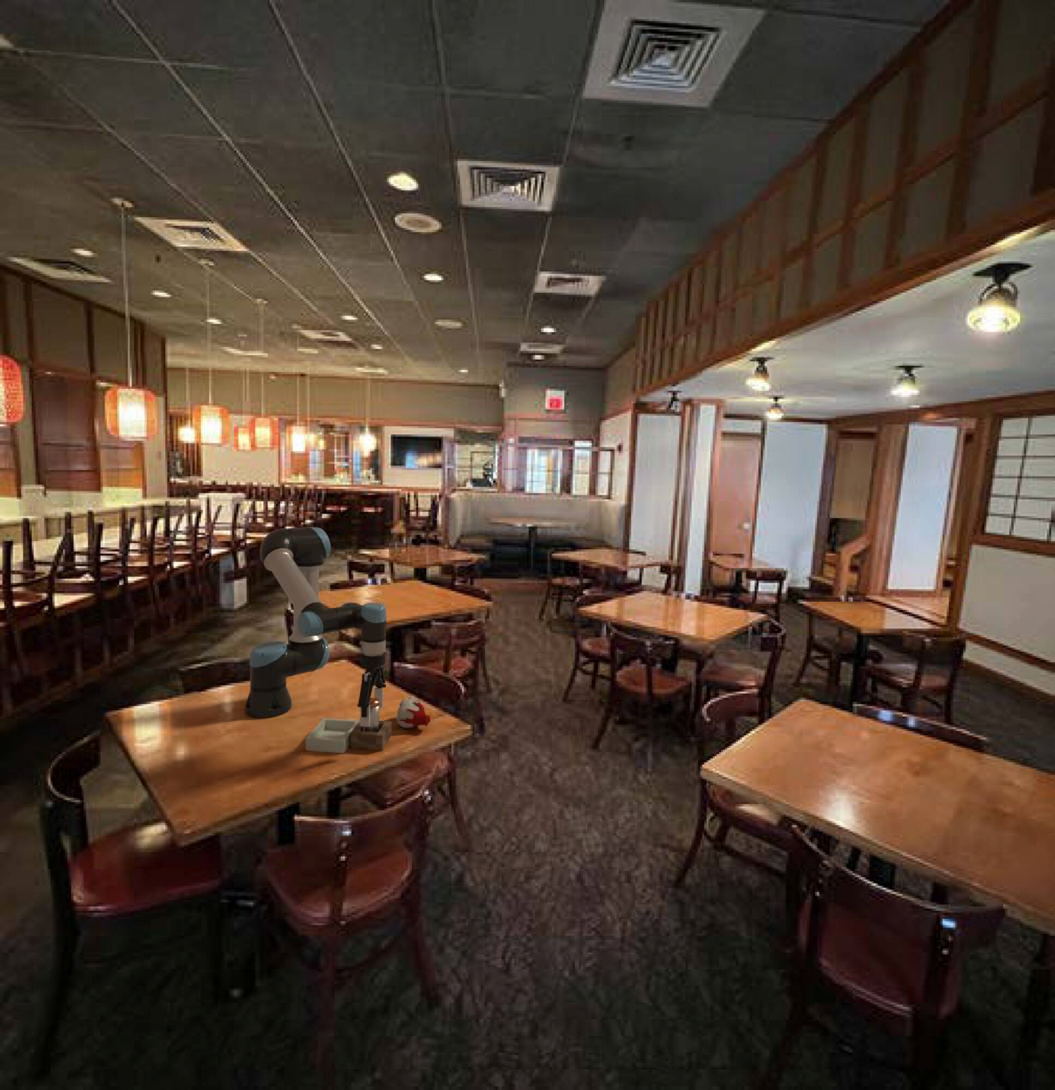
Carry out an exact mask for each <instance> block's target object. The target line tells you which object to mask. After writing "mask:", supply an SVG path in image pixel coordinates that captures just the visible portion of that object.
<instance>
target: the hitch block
mask: <svg viewBox="0 0 1055 1090" xmlns="http://www.w3.org/2000/svg"><path fill="white" fill-rule="evenodd" d="M391 737H392V721H390V720H389V721H388V720H379V732H367V731H365V726H360V722H359V724H358V725H357V726H356V727H355V729H354V730H353V731H352V733H351V744H350V749H353V750H366V751H367V750H368V751H377V752H378V751H379V752H380V751H383V750H384V749H385V747H386V745H387V743H388V742H389V741H390V739H391Z"/></svg>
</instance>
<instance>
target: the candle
mask: <svg viewBox="0 0 1055 1090" xmlns="http://www.w3.org/2000/svg"><path fill="white" fill-rule="evenodd" d="M396 722H397V724H398V725H399V726H400V727H401V728H402V729H406V730H409V729H414V728H417V727H419V726H425V727H427V726H428V725H429V724H430V722H431V716H430V715H428V714H426V712H425V707H424V703H423V701H422V700H421V699H418V698H417V697H415V696H413V695H410V696H409V697H404V698H402V700H401V701H400V703H399V707H398V709H397V714H396Z"/></svg>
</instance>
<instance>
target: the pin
mask: <svg viewBox="0 0 1055 1090" xmlns="http://www.w3.org/2000/svg"><path fill="white" fill-rule="evenodd" d="M369 706H370V726H369V727H366V726H365V731H367V732H379V721H380V708H379V699H378V698H374V697H371V698H370V702H369Z"/></svg>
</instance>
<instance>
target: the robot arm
mask: <svg viewBox="0 0 1055 1090" xmlns="http://www.w3.org/2000/svg"><path fill="white" fill-rule="evenodd" d="M331 549H332V548H331V542H330V539H329V536H328V535H327V533H326V532H325V530H323V529H322V528H320V527H312V526H310V527H309V526H307V527H292V528H291V527H290V528H277V529H275V530H272V531H271V532H269V533H268V534H267V535H266V536H265V537H264V538H263V540H262V541H261V544H260V548H259V557H260V559H261V562H262V564H263V566H264V567H265V569H266V570H268V571H270V572H272V574H273V576H274V578H275V579H276V580H277V582H278V583H279V585H280V587H281V588H282V591H284V593H285V595H286V596H287V597H288V599H289V601H290V602H291V604H292V605H293V628H292V629H293V633H292V634H291V635H290V636H289V637H288V643H287V644H286V642H284V641H269V642H264V643H261V644H259V645H257V646H255V647H254V648H253V649H252V650H251V651H250V653H249V680H250V681H249V689H250V690H249V694H248V696H247V699H246V701H245V704H244V713H245V715H247V716H248V717H250V718H254V719H255V718H257V719H267V718H273V717H277V716H280V715H284V714H285V713H287V712H289V711H290V710H291V708H292V706H293V704H292V698H291V695H290V692H289V690H288V686H287V678H290V677H294V676H298V675H302V674H306V673H313V672H315V671H317V670H321V669H322V668H323V667H325V666H326V664H327V663H328V661H329V656H330V647H329V644H328V641H327V639H325V638H324V636H323V635H327V634H330V633H331V634H332V633H335V632H342V631H346V630H351V629H354V630H358V631H360V641H359V645H360V652H361V654H360V665H361V667H364V668H365V672H364V673H362V675H361V684H360V690H359V696H358V697H359V698H358V703H357V705H356V706H357V708H360V714H359V716H360V717H359V719H360V720H359V721H360V726H366V727H369V726H370V706H369V702H370V698H372V693H373V691H374V693H373V694H374V696H373V698H378V699H379V709H382V708H383V707H384V688H387V684H386V676H385V670H384V665H385V664H386V650H387V649H386V647H387V646H386V645H387V643H386V642H387V639H386V637H387V635H386V634H387V618H388V617H387V607H386V605H385V604H383V603H381V602H380V603H379V602H367V603H365V604H360V603H357V602H352V601H347V602H344V603H343V604H341V606H336V607H331V608H326V606H325V605H324V603H322V601H321V599H320V569H321V568H322V567H323V566H324V563H325V562H324V560H326V559H327V558H329V557H330V554H331ZM374 686H375V688H374ZM373 688H374V689H373Z"/></svg>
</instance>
